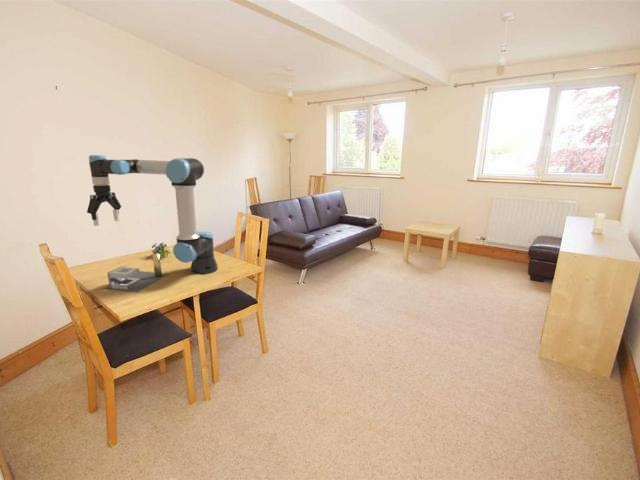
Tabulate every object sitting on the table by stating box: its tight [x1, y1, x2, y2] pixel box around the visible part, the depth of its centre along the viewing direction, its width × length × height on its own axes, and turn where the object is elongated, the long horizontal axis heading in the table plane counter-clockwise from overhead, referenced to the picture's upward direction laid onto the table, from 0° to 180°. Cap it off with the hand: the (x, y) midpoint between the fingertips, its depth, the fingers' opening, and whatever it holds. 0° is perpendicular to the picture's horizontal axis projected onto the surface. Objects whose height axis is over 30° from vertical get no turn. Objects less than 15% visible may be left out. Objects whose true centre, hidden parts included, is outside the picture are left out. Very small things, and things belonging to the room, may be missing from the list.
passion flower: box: [151, 241, 171, 259], centre depth 204 cm, size 11×11×12 cm
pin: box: [152, 253, 162, 278], centre depth 170 cm, size 4×4×13 cm
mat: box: [103, 270, 170, 293], centre depth 165 cm, size 19×25×1 cm
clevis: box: [107, 266, 141, 290], centre depth 157 cm, size 10×9×8 cm
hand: (107, 223), depth 173 cm, fingers open, 13 cm apart
